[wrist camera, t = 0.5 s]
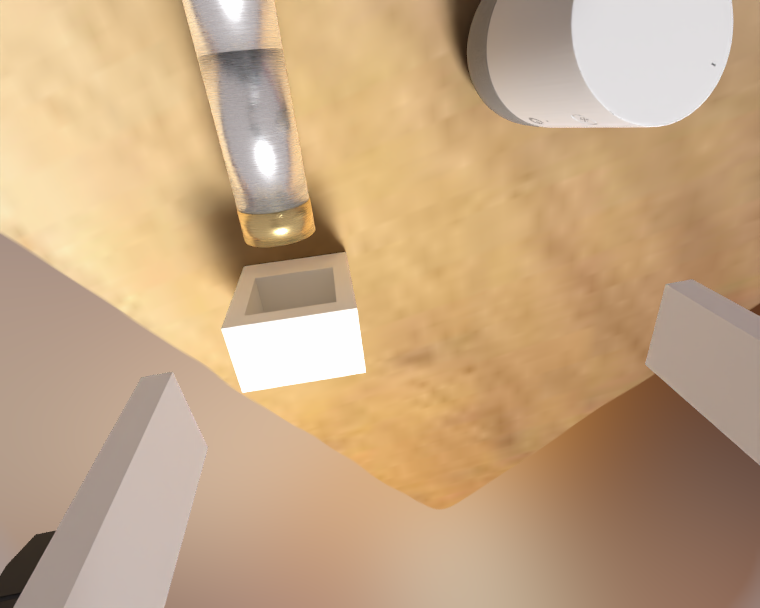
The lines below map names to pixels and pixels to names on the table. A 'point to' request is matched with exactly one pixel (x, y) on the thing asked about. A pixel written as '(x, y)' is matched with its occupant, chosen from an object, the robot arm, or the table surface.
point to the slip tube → (253, 116)
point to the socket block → (294, 323)
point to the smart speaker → (598, 59)
